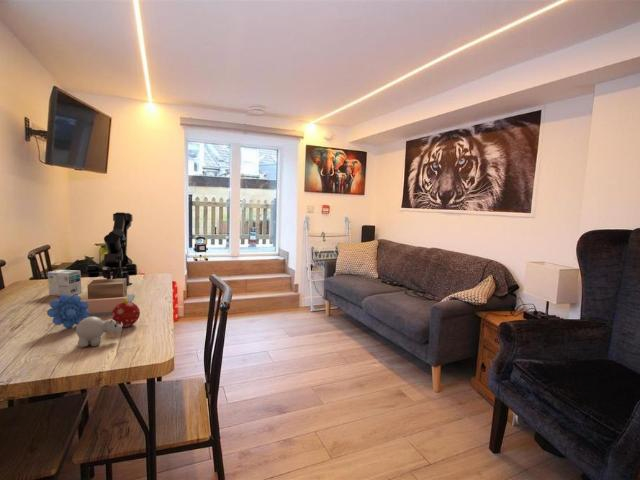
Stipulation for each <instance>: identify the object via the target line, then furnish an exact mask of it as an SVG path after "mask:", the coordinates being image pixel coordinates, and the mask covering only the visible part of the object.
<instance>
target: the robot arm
mask: <svg viewBox="0 0 640 480" xmlns="http://www.w3.org/2000/svg"><path fill="white" fill-rule="evenodd" d="M133 219H134V218H133V214H131V213H130V212H123V211H122V212H119V211H117V212H114V213H113V214H112V221H113V222H114V223H113V226H112V227H113V228H112V230H111V231H110V232H109V233H108V234H107V235H105V236H103V237H104V238H103V241H104V244H105V249H106V250H107V253H105V254H104V255H103V265H104V266H102V268H101V267H100V268H99V265H98V264H94V265H93V264H91V265H87V266H86V268H85V272H86V274H87V277H88V278H97V277H100V274H102V279H103V278H104V279H119V278H126V281H127V287H128V286H130V285H133V283H132V282H130V276H137V275H138V267H137V266H138V265H137V264H136V263H132V262H131V261H130V258H129V255H127V252H128V249H127V247H128V230H129V228H130V227H132V222H133Z"/></svg>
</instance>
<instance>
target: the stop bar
mask: <svg viewBox="0 0 640 480" xmlns="http://www.w3.org/2000/svg"><path fill="white" fill-rule="evenodd" d="M125 298H127V297H118V298H104V299H90V300H88V299H81V301H85V302H87V303H88V308H87V309H85V310H88V311H89V313H101V312H112V311H113V309H114V308H115V307H116V306H117V305H118V304H120V303H122V302H123V300H124V299H125ZM81 301H80V302H81Z"/></svg>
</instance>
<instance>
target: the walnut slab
mask: <svg viewBox="0 0 640 480" xmlns="http://www.w3.org/2000/svg"><path fill="white" fill-rule="evenodd" d="M126 295H128V286H127V281H126V278H119V279H112V278H111V279H106V278H104V279H103V278H102V279H93V280H91V281H90V283H88V284H87V300H90V299H104V298H118V297H126Z"/></svg>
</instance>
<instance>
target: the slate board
mask: <svg viewBox="0 0 640 480" xmlns="http://www.w3.org/2000/svg"><path fill="white" fill-rule="evenodd" d="M134 299H135V294H127V300H128V302H132V303H133V301H134ZM102 316H103V317H104V316H105V317H106V316H112V312H101V313H90V315H89V317H102Z"/></svg>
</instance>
